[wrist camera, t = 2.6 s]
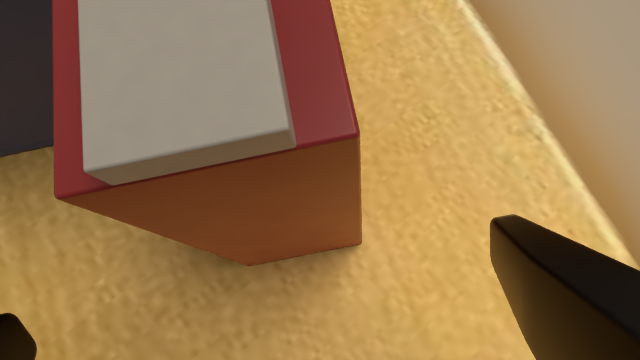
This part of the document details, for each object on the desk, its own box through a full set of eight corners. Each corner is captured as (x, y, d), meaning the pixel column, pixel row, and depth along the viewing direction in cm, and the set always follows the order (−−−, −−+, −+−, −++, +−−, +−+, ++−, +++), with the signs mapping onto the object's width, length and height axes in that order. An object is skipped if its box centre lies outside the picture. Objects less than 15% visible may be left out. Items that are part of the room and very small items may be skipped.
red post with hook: (362, 243, 19) (360, 114, 6) (247, 266, 19) (13, 186, 6) (326, 75, 21) (271, -272, 8) (224, 97, 21) (19, -210, 9)
